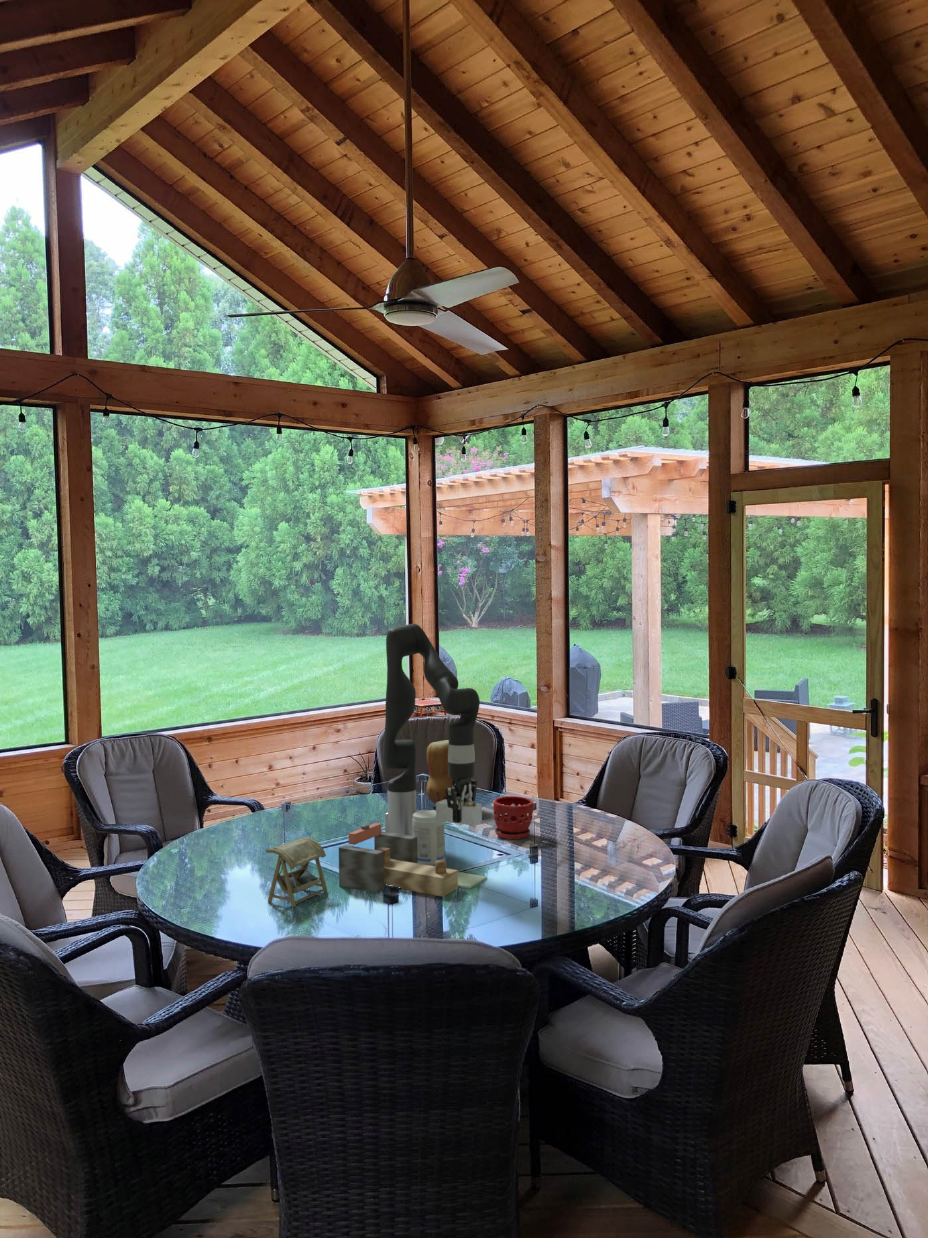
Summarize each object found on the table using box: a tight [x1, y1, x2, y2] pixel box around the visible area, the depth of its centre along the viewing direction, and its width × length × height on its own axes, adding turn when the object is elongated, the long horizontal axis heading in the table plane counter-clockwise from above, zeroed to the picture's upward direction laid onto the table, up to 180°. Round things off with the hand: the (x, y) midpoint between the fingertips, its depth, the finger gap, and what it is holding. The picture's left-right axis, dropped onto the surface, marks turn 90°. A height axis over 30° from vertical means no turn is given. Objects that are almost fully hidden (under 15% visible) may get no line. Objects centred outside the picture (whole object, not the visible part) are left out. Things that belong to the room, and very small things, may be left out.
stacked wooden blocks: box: [338, 830, 459, 897], centre depth 267 cm, size 30×20×11 cm, turn 60°
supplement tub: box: [413, 809, 446, 866], centre depth 287 cm, size 10×10×15 cm
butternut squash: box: [426, 739, 459, 805], centre depth 357 cm, size 14×13×25 cm
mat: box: [458, 871, 488, 890], centre depth 269 cm, size 10×10×1 cm
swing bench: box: [265, 836, 328, 908], centre depth 256 cm, size 15×10×15 cm, turn 152°
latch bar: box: [348, 822, 382, 846], centre depth 273 cm, size 2×13×4 cm, turn 150°
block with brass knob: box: [435, 799, 483, 826], centre depth 269 cm, size 12×5×6 cm, turn 60°
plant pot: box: [492, 795, 534, 840], centre depth 316 cm, size 13×13×12 cm
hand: (461, 820), depth 268 cm, fingers closed on block with brass knob, 5 cm apart
